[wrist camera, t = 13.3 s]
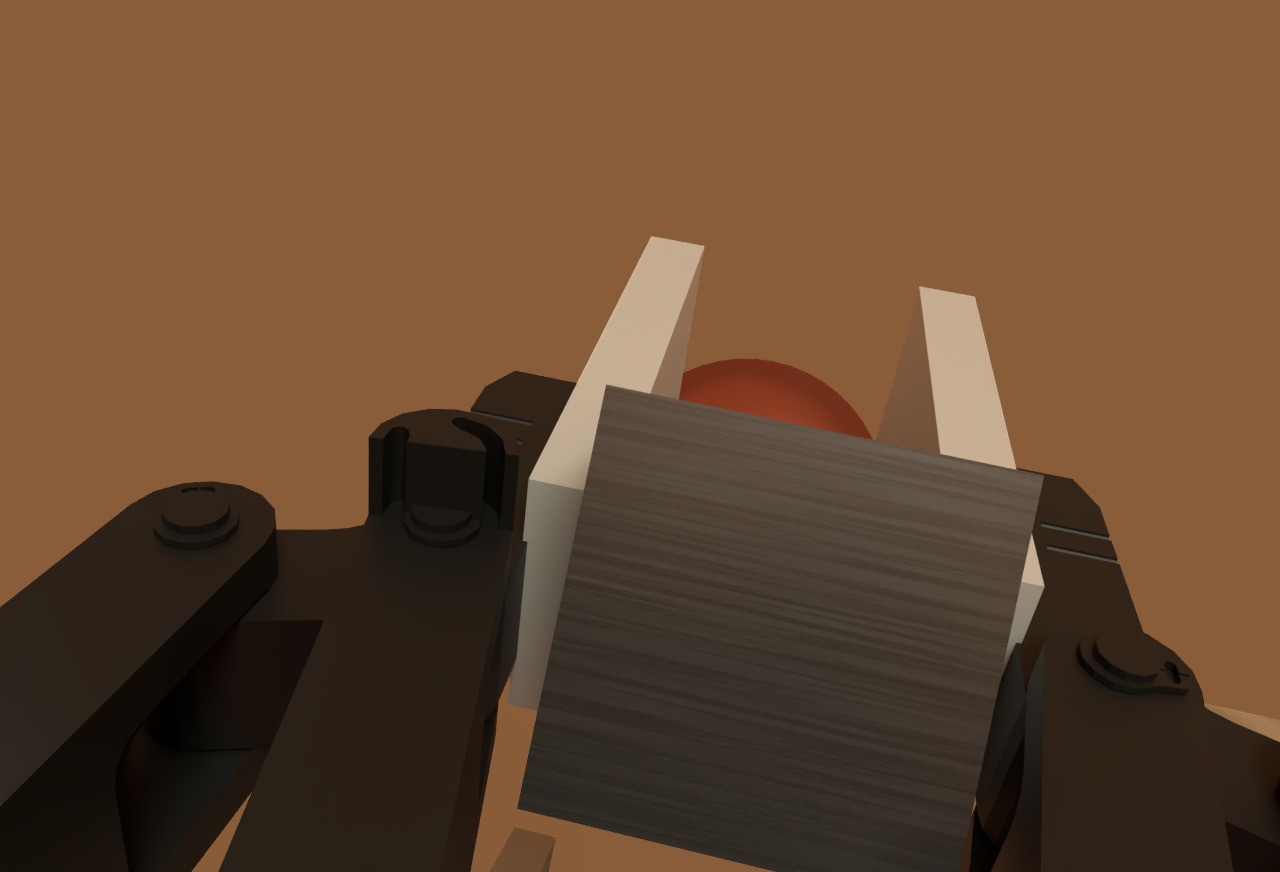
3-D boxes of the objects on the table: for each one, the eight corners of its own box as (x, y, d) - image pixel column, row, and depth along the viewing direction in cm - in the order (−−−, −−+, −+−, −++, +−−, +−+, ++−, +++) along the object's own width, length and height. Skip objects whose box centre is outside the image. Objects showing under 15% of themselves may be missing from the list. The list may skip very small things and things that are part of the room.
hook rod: (188, 1015, 8) (388, 49, 8) (589, 594, 29) (642, 339, 29) (1190, 1286, 7) (1418, 238, 7) (846, 652, 29) (902, 392, 29)
